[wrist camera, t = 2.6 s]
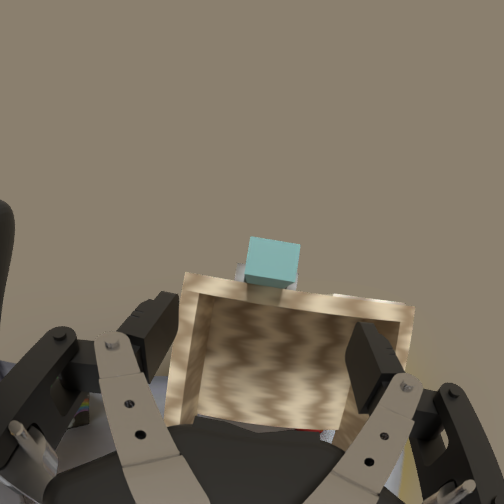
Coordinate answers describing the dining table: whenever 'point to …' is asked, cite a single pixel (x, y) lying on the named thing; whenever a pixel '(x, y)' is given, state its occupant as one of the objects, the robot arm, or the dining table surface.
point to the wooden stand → (272, 354)
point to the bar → (271, 263)
